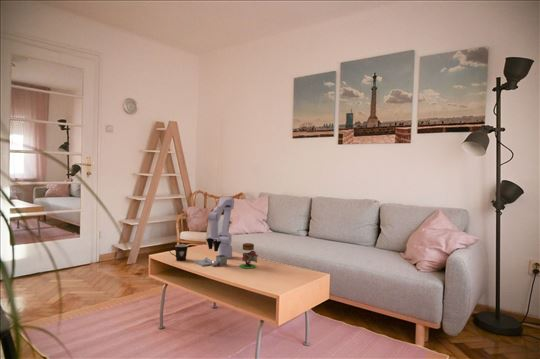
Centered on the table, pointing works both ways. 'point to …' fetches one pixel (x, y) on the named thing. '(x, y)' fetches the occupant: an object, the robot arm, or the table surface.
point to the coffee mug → (180, 252)
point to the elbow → (220, 261)
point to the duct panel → (204, 262)
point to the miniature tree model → (249, 256)
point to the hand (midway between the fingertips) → (213, 250)
